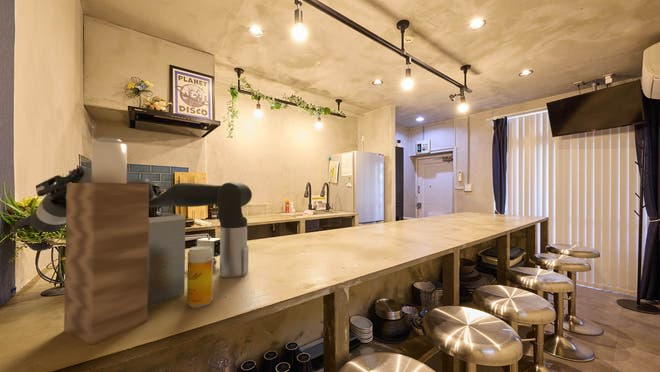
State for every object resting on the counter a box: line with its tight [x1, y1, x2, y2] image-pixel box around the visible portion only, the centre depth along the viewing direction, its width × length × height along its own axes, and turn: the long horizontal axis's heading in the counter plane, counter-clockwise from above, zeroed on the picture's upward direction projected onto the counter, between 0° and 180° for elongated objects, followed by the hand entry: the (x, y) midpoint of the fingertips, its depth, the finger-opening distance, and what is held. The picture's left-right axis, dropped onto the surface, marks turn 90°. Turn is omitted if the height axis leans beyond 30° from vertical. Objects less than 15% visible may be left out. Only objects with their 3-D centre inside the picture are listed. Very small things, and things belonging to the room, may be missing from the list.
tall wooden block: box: [63, 183, 150, 346], centre depth 57 cm, size 12×10×32 cm
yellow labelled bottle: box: [186, 246, 214, 309], centre depth 68 cm, size 6×6×15 cm
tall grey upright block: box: [147, 213, 186, 309], centre depth 72 cm, size 10×10×23 cm
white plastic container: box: [68, 137, 128, 183], centre depth 60 cm, size 18×6×10 cm, turn 65°
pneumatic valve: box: [192, 235, 220, 267], centre depth 101 cm, size 6×12×12 cm, turn 78°
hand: (91, 171), depth 61 cm, fingers closed on white plastic container, 3 cm apart
